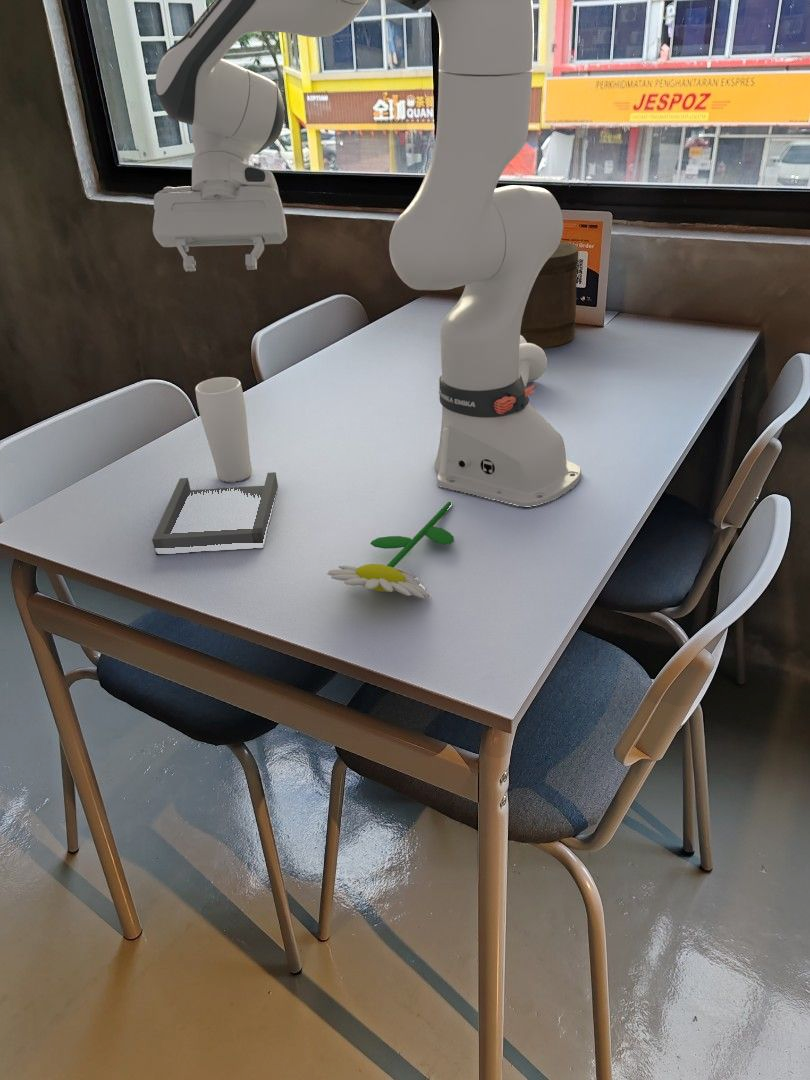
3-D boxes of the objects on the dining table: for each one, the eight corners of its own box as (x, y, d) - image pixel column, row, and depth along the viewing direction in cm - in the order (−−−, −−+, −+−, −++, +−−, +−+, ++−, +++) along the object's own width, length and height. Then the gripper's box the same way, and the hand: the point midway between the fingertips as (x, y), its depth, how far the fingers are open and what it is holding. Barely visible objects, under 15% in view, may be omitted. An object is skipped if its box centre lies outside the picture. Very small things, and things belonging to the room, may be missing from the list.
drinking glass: (253, 485, 125) (236, 392, 117) (209, 487, 125) (189, 395, 118) (260, 465, 131) (244, 375, 123) (218, 467, 131) (200, 377, 123)
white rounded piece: (544, 374, 156) (546, 328, 152) (547, 399, 146) (549, 350, 141) (484, 375, 158) (484, 329, 153) (483, 400, 148) (483, 352, 143)
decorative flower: (407, 514, 120) (307, 609, 95) (409, 483, 118) (306, 573, 93) (491, 532, 115) (409, 637, 90) (494, 500, 113) (411, 599, 88)
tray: (183, 492, 124) (179, 478, 123) (278, 486, 124) (275, 472, 123) (156, 555, 110) (152, 539, 109) (263, 548, 110) (260, 532, 108)
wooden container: (585, 330, 176) (591, 222, 164) (557, 352, 166) (561, 239, 154) (521, 322, 183) (523, 218, 172) (491, 343, 173) (490, 234, 161)
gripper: (147, 175, 125) (145, 260, 123) (282, 171, 125) (282, 256, 123) (160, 199, 131) (158, 280, 129) (288, 195, 131) (289, 276, 129)
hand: (220, 268), depth 126 cm, fingers open, 8 cm apart
